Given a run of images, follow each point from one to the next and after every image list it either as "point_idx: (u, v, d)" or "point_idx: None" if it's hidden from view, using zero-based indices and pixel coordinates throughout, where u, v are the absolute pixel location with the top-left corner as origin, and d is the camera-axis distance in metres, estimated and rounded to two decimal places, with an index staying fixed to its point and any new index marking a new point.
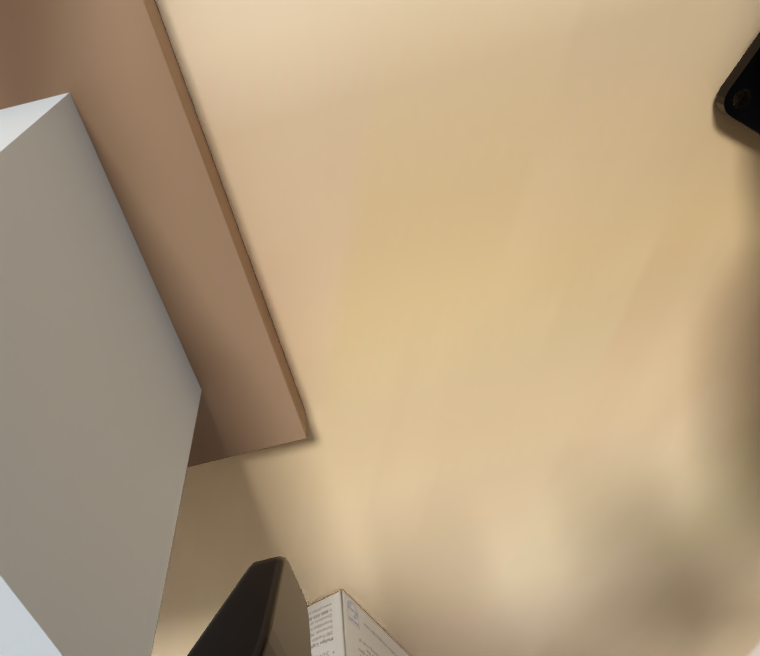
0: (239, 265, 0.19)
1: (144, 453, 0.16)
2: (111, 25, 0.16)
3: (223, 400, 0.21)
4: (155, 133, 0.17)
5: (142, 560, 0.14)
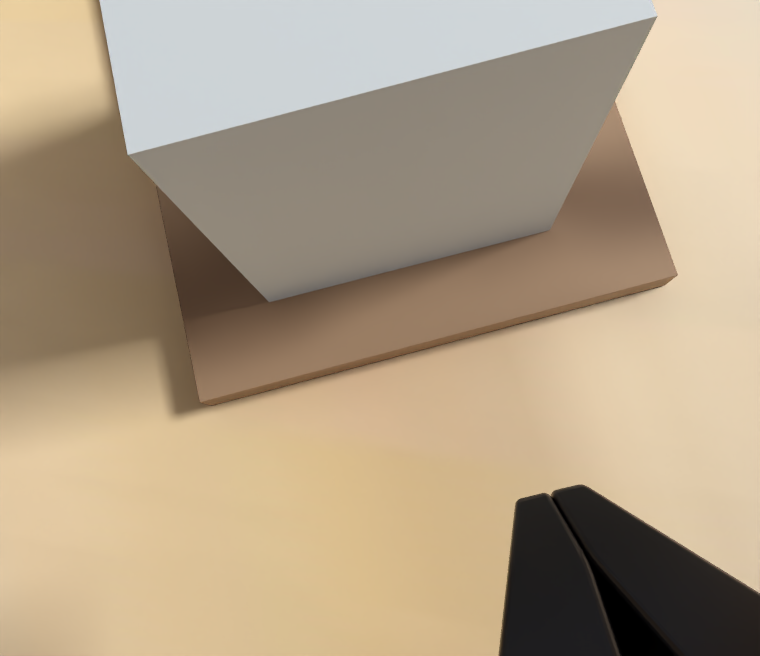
0: (402, 345, 0.21)
1: (304, 232, 0.17)
2: (600, 266, 0.21)
3: (255, 321, 0.22)
4: (520, 288, 0.21)
5: (241, 207, 0.15)
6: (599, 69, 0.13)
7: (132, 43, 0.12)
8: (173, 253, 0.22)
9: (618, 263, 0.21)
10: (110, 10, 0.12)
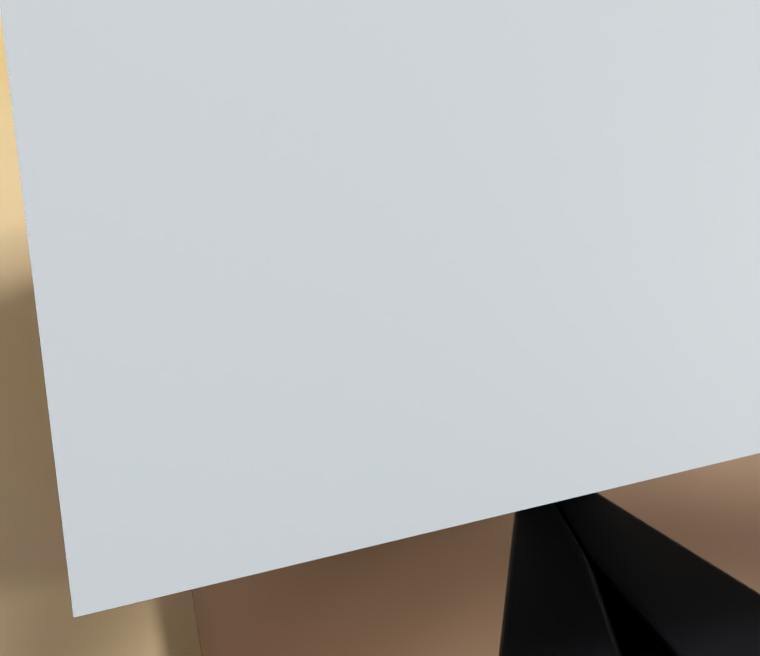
0: None
1: None
2: None
3: None
4: None
5: None
6: None
7: (90, 386, 0.07)
8: (198, 599, 0.16)
9: None
10: (53, 319, 0.07)
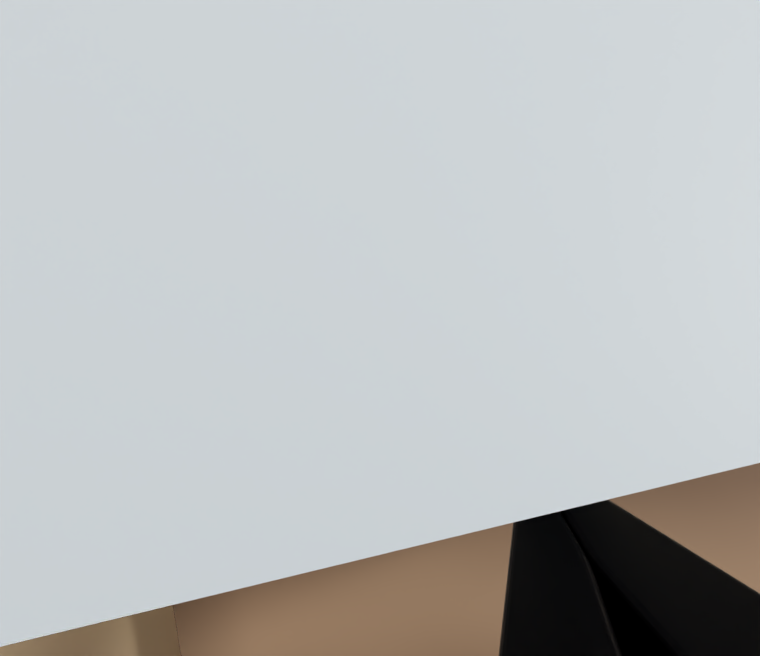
0: None
1: None
2: None
3: None
4: None
5: None
6: None
7: (21, 372, 0.06)
8: None
9: None
10: None
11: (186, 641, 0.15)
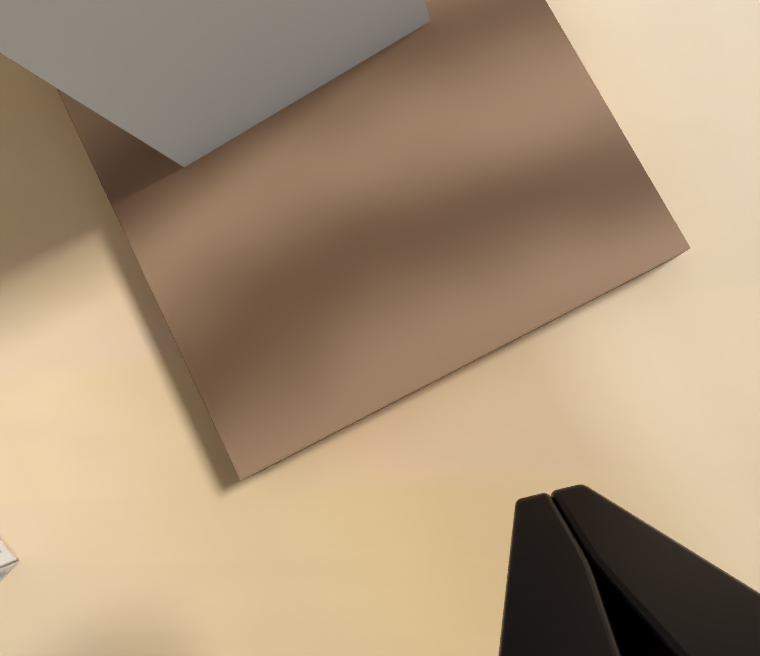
0: (421, 384, 0.21)
1: (161, 69, 0.17)
2: (606, 257, 0.20)
3: (273, 390, 0.22)
4: (528, 298, 0.21)
5: (76, 49, 0.15)
6: None
7: None
8: (178, 339, 0.22)
9: (624, 249, 0.20)
10: None
11: (137, 248, 0.23)
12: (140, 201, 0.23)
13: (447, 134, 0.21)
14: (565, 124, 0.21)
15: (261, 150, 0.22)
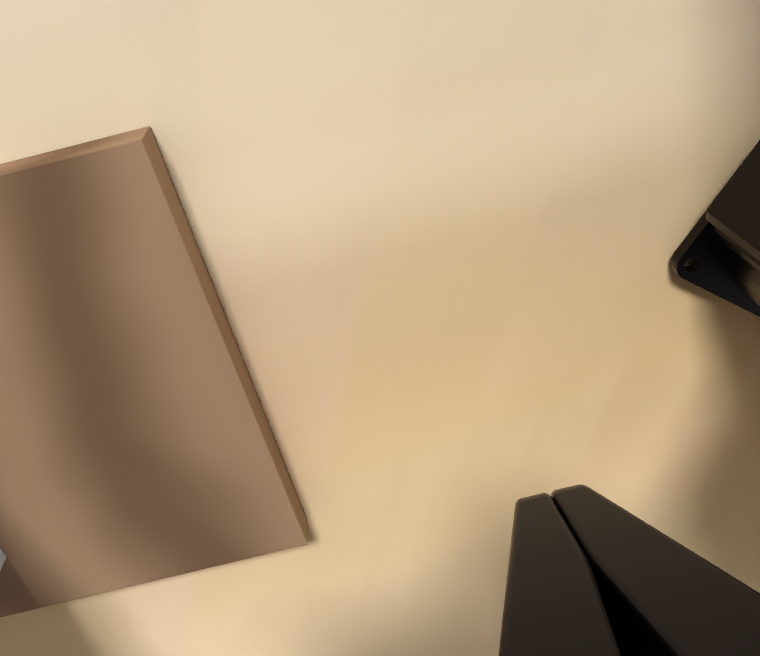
0: (248, 407, 0.22)
1: None
2: (141, 226, 0.18)
3: (232, 515, 0.24)
4: (177, 307, 0.20)
5: None
6: None
7: None
8: (174, 573, 0.25)
9: (135, 206, 0.18)
10: None
11: (84, 594, 0.25)
12: (38, 588, 0.25)
13: None
14: None
15: None
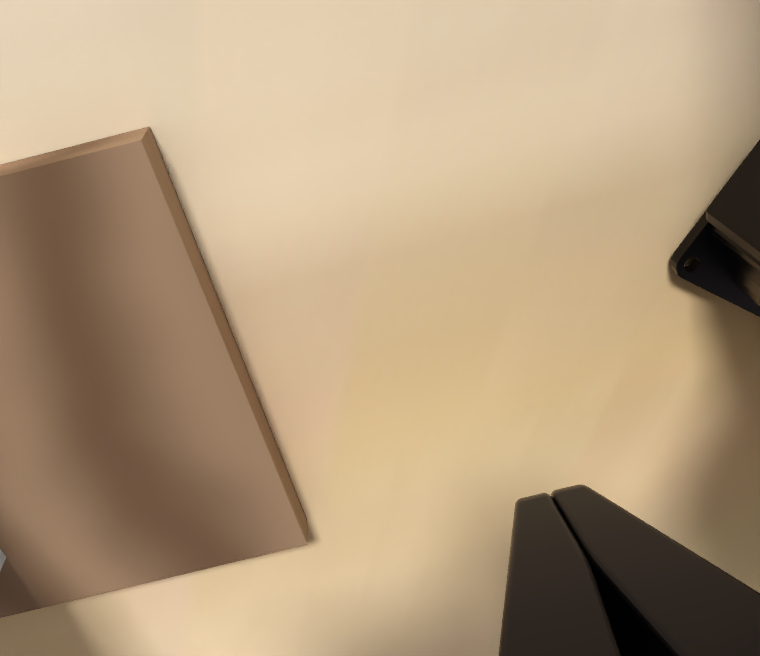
0: (248, 407, 0.22)
1: None
2: (140, 226, 0.18)
3: (232, 515, 0.24)
4: (176, 307, 0.20)
5: None
6: None
7: None
8: (174, 574, 0.25)
9: (134, 207, 0.18)
10: None
11: (84, 594, 0.25)
12: (38, 588, 0.25)
13: None
14: None
15: None
